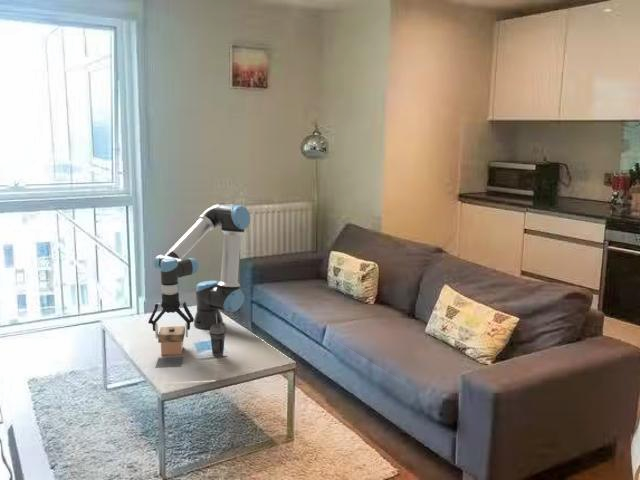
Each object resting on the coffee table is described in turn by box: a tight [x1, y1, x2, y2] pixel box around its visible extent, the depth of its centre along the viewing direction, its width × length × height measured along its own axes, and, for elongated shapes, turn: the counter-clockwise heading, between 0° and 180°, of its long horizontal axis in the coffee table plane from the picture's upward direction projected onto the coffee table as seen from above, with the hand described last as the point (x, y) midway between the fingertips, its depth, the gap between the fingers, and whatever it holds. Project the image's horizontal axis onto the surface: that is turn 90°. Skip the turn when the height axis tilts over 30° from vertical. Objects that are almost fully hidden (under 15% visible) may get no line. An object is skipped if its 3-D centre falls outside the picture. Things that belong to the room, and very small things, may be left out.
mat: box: [155, 356, 184, 369], centre depth 260 cm, size 11×11×1 cm
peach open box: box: [160, 341, 184, 356], centre depth 272 cm, size 9×9×7 cm
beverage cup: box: [209, 314, 226, 358], centre depth 267 cm, size 7×7×20 cm
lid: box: [157, 325, 186, 344], centre depth 271 cm, size 11×11×4 cm
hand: (171, 336), depth 272 cm, fingers open, 13 cm apart
